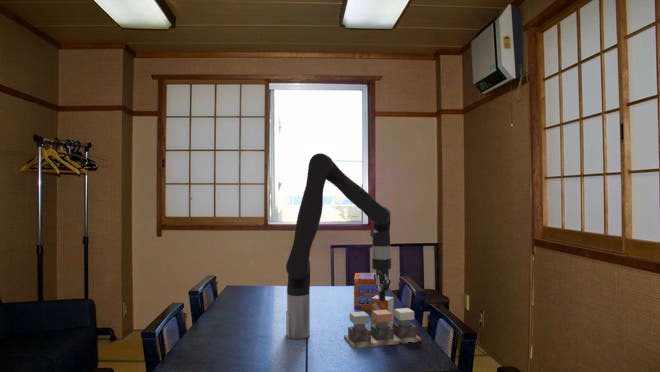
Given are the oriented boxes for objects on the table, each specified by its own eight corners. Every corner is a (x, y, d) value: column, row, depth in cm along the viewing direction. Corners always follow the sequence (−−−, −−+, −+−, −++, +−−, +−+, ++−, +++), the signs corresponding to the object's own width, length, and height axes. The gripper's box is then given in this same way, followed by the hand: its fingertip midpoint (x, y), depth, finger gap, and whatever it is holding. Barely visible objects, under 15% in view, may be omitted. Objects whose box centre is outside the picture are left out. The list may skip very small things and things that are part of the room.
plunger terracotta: (377, 332, 180) (377, 314, 180) (372, 328, 185) (372, 310, 185) (392, 331, 181) (391, 313, 181) (386, 326, 187) (386, 309, 187)
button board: (353, 348, 174) (353, 334, 174) (343, 338, 185) (343, 325, 185) (421, 341, 181) (421, 328, 181) (408, 332, 193) (408, 319, 193)
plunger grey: (354, 334, 177) (354, 316, 177) (349, 330, 183) (349, 312, 183) (369, 333, 179) (369, 315, 179) (364, 328, 184) (364, 311, 184)
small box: (370, 328, 198) (370, 297, 198) (376, 324, 204) (376, 294, 204) (388, 331, 194) (388, 300, 194) (393, 327, 200) (393, 296, 200)
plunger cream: (400, 330, 182) (400, 312, 182) (394, 326, 188) (394, 309, 188) (414, 329, 184) (414, 311, 184) (407, 325, 189) (407, 307, 189)
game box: (385, 310, 226) (385, 278, 226) (353, 310, 228) (353, 278, 228) (385, 302, 242) (384, 272, 242) (355, 302, 243) (355, 272, 243)
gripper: (367, 255, 189) (367, 297, 189) (378, 260, 176) (379, 305, 176) (384, 254, 191) (384, 296, 191) (396, 258, 178) (397, 303, 178)
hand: (382, 300), depth 183 cm, fingers closed
